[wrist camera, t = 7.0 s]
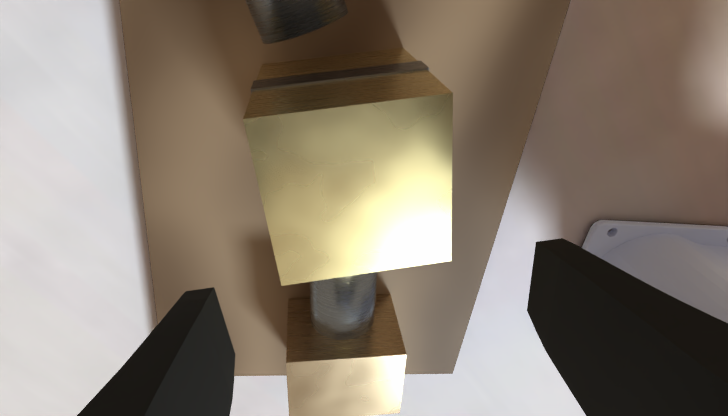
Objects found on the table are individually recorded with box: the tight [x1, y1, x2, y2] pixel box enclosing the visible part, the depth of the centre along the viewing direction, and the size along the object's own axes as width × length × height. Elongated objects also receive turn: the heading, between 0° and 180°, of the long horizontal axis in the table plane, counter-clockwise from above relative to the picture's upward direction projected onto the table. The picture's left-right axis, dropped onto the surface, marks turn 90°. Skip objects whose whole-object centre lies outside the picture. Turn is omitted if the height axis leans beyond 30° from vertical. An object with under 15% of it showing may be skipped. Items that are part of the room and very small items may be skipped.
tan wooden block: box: [243, 48, 453, 286], centre depth 14 cm, size 5×5×6 cm
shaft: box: [286, 272, 407, 416], centre depth 20 cm, size 9×5×4 cm, turn 178°
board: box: [119, 0, 570, 376], centre depth 18 cm, size 15×27×1 cm, turn 172°
